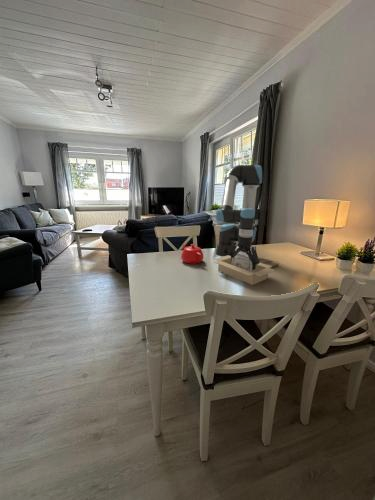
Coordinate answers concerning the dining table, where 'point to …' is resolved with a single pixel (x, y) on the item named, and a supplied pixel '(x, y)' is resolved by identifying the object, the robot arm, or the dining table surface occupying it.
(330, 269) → the dining table surface
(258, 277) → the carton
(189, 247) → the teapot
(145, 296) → the dining table surface
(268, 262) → the board
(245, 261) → the ink box
